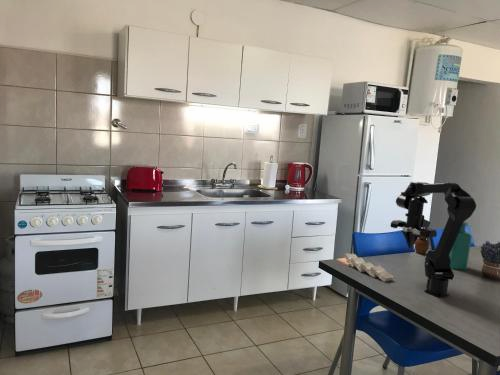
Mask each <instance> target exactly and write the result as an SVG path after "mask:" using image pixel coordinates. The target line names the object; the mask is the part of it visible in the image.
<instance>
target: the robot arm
mask: <svg viewBox="0 0 500 375" xmlns="http://www.w3.org/2000/svg"><path fill="white" fill-rule="evenodd" d="M431 194H432V195H433V194H444V201H445V203H446V204H447V209H446V210H447V214H448V218H447V220H446V223H445V225H444V228H443V230H442V233H441V235H440V237H439V240H438V243H437V245H436V248H435V249H434V250H427V252H426V256H425V258H424V273H425V274H424V275H425V277H427V282H426V289H424V290H423V291H424V292H425V293H428V294H429V295H432V296H435V297H437V298H444V297H447V296H450V293H448V287H449V280H452V281H453V279H454V277H455V275H454V271H453V269H451V267H450V263H451V259H450V256H449V254H450V252H451V249H452V247H453V245H454V242H455V240H456V238H457V236H458V233H459V231H460V229H461V226H462V224H463V222H466V221H467V220H468V219H469V218H470V217H471V216H472V215H473V213H474V212H475V211H476V209H477V203H476V201H475V199H474V197H472V196H471V194H469V193H468V192H467V191H466V190H464V189H463V188H462V187H461V186H460V185H459V184H458V183H456V182H443V183H442V182H441V183H440V182H439V183H429V182H421V181H411V182H409V184H408V186H407V187H406V189H405V190H404V191H401V192H400V195H398V196H397V198H396V199H395V203H396V205H397V207H399V208H401V209H405V210H407V213H405V214H404V215H405V217H406V221H404V220H398V219H396V220H391V222H390V228H393V229H398V228H402V230H401V231H400V232H401V233H402V235H403V236H404V239H405V241H406V244H407V247H408V249H409V250H410V249H411V250H412V249H413V248H414V244H415V242H416V240H417V239H418V238H419V237H420V236H424V237H428V238H427V239H429V238H436V237H437V236H438V231H437V230H436V229H433V228H431V227H430V225H431V222H430V221H428V220H427V219H425V215H424V214H423V211H424V206H425V204H428V200H427V199H426V198H425V197H427V196H430V195H431ZM453 195H454V196H453Z"/></svg>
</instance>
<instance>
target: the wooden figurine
mask: <svg viewBox="0 0 500 375" xmlns="http://www.w3.org/2000/svg"><path fill="white" fill-rule="evenodd" d="M429 246H430V242H429V238H428V237H424V236H420V237H419V238H418V239H417V240H416V242H415V244H414V246H413V248H414V251H415V253H416V254H420V255H425V254H427V253H428V251H429V250H428V249H429Z"/></svg>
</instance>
